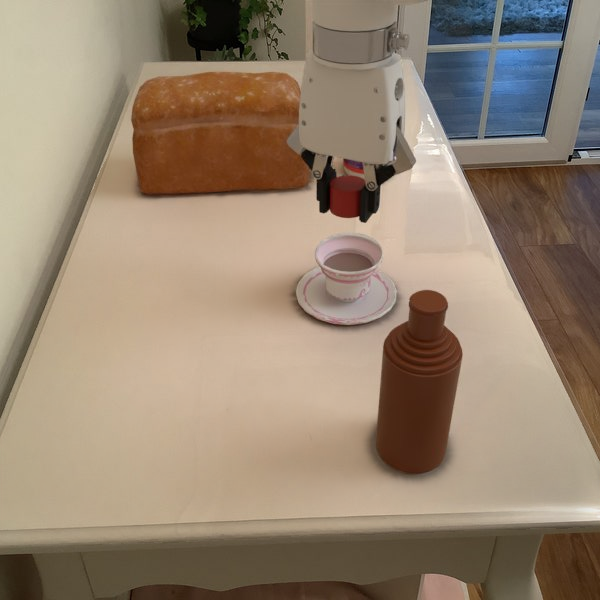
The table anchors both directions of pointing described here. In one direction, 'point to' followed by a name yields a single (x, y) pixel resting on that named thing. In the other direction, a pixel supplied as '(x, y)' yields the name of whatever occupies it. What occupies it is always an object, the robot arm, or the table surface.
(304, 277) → the teacup
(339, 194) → the cap
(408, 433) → the bottle
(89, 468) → the table surface
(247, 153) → the bread
